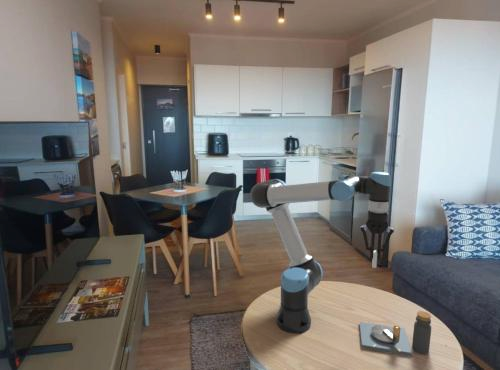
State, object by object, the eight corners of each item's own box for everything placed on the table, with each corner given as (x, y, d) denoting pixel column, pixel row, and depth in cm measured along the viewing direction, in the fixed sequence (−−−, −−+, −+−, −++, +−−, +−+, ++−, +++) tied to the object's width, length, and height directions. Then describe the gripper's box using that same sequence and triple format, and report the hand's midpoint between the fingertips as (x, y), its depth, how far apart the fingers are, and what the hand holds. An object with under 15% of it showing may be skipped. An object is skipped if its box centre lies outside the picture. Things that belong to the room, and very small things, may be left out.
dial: (396, 349, 126) (398, 330, 125) (366, 335, 134) (368, 318, 133) (406, 337, 134) (407, 319, 132) (377, 325, 142) (378, 308, 140)
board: (361, 348, 129) (361, 345, 129) (359, 324, 145) (359, 321, 145) (412, 357, 125) (412, 353, 124) (404, 331, 140) (404, 327, 140)
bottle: (432, 352, 127) (436, 317, 124) (420, 356, 125) (423, 319, 123) (420, 343, 132) (423, 309, 130) (408, 346, 131) (411, 311, 128)
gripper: (361, 212, 131) (357, 268, 135) (397, 214, 128) (392, 272, 132) (360, 207, 138) (357, 261, 142) (394, 209, 135) (389, 264, 139)
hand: (374, 266), depth 137 cm, fingers closed
